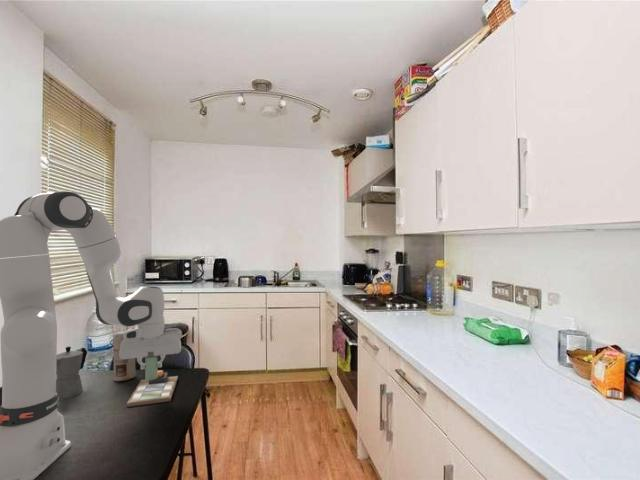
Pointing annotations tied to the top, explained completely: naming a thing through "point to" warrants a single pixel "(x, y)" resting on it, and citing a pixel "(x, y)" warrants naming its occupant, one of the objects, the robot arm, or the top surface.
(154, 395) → the checkered tray
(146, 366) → the green capped bottle
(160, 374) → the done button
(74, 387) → the coffeepot
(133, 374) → the tan paper carton
